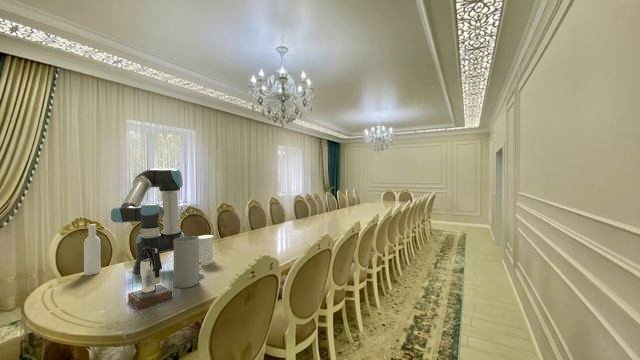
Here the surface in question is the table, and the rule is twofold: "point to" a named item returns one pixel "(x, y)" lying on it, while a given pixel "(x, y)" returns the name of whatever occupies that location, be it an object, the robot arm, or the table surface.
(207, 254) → the decorative container
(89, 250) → the bottle
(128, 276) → the table surface
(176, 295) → the table surface
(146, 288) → the beer glass
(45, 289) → the table surface
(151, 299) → the walnut stand
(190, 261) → the cylinder vase
